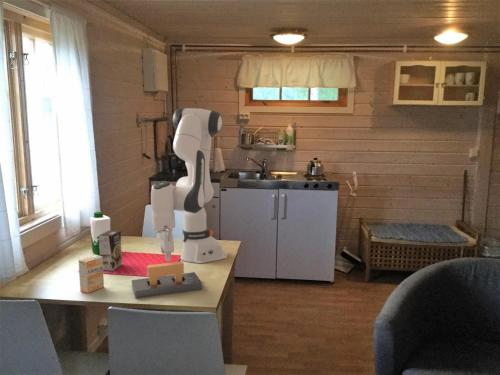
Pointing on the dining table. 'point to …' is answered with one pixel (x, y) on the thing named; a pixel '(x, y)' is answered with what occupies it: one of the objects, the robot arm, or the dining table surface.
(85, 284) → the supplement box
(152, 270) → the orange u-shaped block
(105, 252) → the coffee box
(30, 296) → the dining table surface
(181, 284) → the holed rail
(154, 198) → the robot arm
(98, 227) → the milk carton
